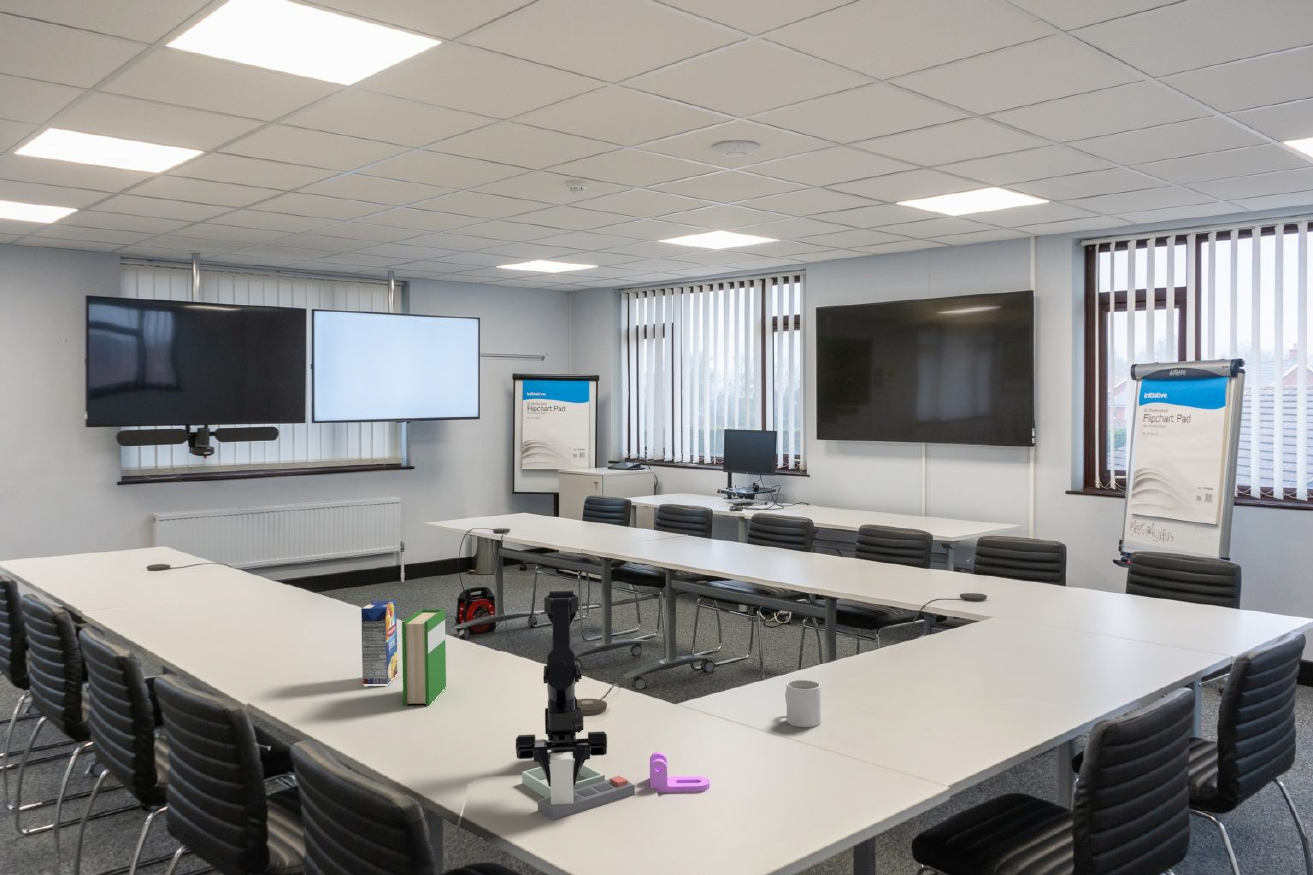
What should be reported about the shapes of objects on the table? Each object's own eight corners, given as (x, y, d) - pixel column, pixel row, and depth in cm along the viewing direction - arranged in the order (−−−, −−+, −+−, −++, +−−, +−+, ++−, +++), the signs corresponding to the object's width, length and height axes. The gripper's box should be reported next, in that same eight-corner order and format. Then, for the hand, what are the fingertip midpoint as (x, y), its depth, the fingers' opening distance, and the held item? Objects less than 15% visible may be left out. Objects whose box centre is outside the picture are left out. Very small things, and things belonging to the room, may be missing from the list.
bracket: (650, 793, 197) (649, 761, 197) (650, 783, 203) (649, 751, 203) (710, 792, 197) (710, 760, 197) (708, 782, 203) (708, 750, 203)
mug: (820, 728, 237) (819, 689, 237) (783, 726, 239) (782, 688, 239) (821, 715, 248) (820, 678, 248) (785, 713, 250) (785, 676, 250)
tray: (522, 787, 201) (522, 771, 201) (572, 773, 209) (572, 757, 209) (553, 806, 190) (552, 790, 190) (605, 790, 198) (604, 774, 198)
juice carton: (374, 676, 292) (372, 601, 292) (397, 675, 293) (396, 600, 292) (362, 686, 280) (361, 608, 280) (387, 686, 281) (385, 608, 280)
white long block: (551, 806, 188) (550, 752, 188) (573, 805, 189) (572, 751, 189) (551, 814, 184) (550, 760, 184) (573, 813, 185) (572, 758, 185)
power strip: (553, 825, 182) (552, 805, 182) (537, 815, 187) (537, 796, 187) (634, 798, 194) (634, 781, 194) (618, 790, 199) (618, 772, 199)
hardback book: (428, 706, 260) (427, 622, 260) (403, 706, 260) (401, 622, 260) (446, 688, 278) (444, 609, 277) (422, 688, 278) (420, 609, 278)
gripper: (515, 696, 189) (513, 769, 178) (606, 692, 191) (609, 765, 180) (518, 722, 197) (515, 793, 186) (605, 718, 199) (607, 789, 188)
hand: (561, 785), depth 185 cm, fingers closed on white long block, 4 cm apart
